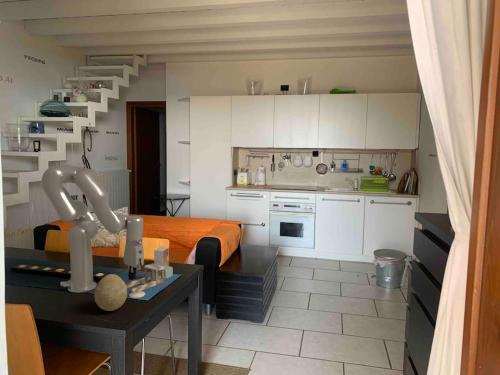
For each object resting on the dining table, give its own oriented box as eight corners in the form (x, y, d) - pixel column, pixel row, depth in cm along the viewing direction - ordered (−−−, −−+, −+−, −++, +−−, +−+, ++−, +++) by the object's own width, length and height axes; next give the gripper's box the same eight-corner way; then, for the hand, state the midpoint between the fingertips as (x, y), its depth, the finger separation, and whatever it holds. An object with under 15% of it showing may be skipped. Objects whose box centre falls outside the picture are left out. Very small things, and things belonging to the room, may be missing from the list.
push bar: (145, 286, 178) (145, 281, 178) (140, 284, 180) (140, 279, 180) (163, 279, 188) (163, 274, 188) (159, 277, 190) (159, 273, 190)
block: (165, 279, 187) (165, 269, 187) (159, 277, 190) (159, 267, 189) (172, 276, 191) (172, 267, 191) (166, 274, 194) (166, 265, 194)
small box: (163, 269, 202) (163, 251, 201) (154, 268, 203) (153, 250, 202) (169, 265, 210) (169, 247, 209) (160, 264, 211) (160, 246, 210)
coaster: (130, 299, 161) (130, 297, 161) (127, 293, 167) (127, 292, 167) (146, 296, 164) (146, 295, 164) (143, 291, 170) (143, 290, 170)
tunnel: (132, 293, 167) (132, 276, 167) (121, 288, 173) (121, 272, 172) (164, 282, 182) (163, 266, 181) (152, 278, 187) (152, 263, 187)
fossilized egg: (133, 304, 156) (132, 270, 154) (117, 317, 143) (116, 281, 142) (105, 302, 158) (105, 268, 156) (88, 314, 145) (87, 278, 144)
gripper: (150, 244, 170) (148, 281, 172) (131, 237, 179) (129, 273, 181) (137, 247, 164) (135, 285, 166) (117, 240, 173) (115, 276, 175)
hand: (132, 279), depth 173 cm, fingers closed
